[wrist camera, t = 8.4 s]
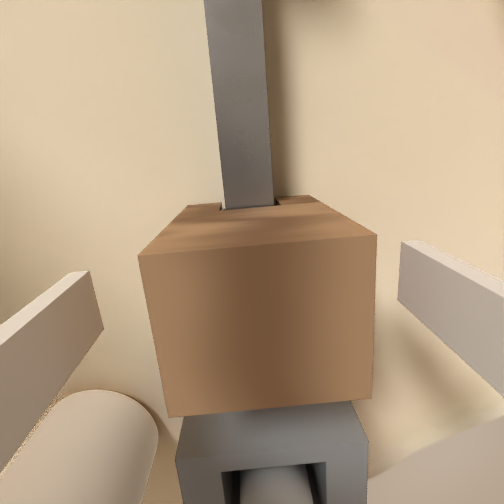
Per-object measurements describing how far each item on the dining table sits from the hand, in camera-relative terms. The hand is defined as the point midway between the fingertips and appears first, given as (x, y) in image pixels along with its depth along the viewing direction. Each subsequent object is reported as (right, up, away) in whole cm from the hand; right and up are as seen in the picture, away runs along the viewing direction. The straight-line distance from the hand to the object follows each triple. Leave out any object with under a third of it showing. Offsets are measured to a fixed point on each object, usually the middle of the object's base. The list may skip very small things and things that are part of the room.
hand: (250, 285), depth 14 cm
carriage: (0, +2, +7) cm, 7 cm away
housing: (+1, -9, +10) cm, 13 cm away
